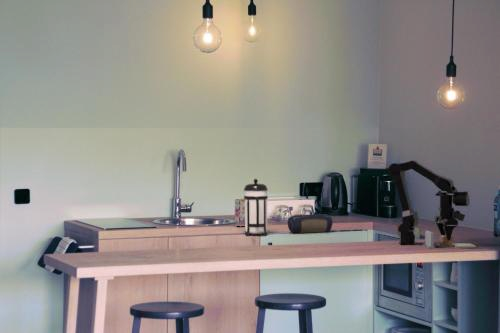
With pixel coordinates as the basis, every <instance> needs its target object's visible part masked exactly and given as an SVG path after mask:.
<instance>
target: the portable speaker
mask: <svg viewBox="0 0 500 333" xmlns="http://www.w3.org/2000/svg"><path fill="white" fill-rule="evenodd" d="M287 228H288V231H289V232H290V233H292V234H295V235H296V234H297V235H298V234H317V233H327V232H330V231H331V230H332V228H333V218H332V216H331V215H329V214H327V213H326V214H325V213H320V214H295V215H292V216H289V218H288V219H287Z"/></svg>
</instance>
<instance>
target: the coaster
mask: <svg viewBox="0 0 500 333" xmlns="http://www.w3.org/2000/svg"><path fill="white" fill-rule="evenodd" d="M453 247H454V248H457V249H458V248H459V249H460V248H465V249H466V248H469V249H470V248H477V246H476V245H474V244H472V243H470V242H469V243H464V242H463V243H453Z"/></svg>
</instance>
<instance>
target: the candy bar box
mask: <svg viewBox="0 0 500 333" xmlns="http://www.w3.org/2000/svg"><path fill="white" fill-rule="evenodd" d="M235 222H238V223H242V222H245V199H244V198H235V199H234V223H235Z"/></svg>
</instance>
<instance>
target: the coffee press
mask: <svg viewBox="0 0 500 333" xmlns="http://www.w3.org/2000/svg"><path fill="white" fill-rule="evenodd" d="M243 191H244V195H243V199H245V227H244V234H245V236H246V237H250V236H251V235H252V234H259V235H260V234H262V235H263V236H264V237H267V236H268V235H269V234H268V232H267V231H268V191H269V190H268V187H267V185H266V184H264V183H258V179H257V178H254V179H253V183H248V184H246V185H245V186H244V188H243Z"/></svg>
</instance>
